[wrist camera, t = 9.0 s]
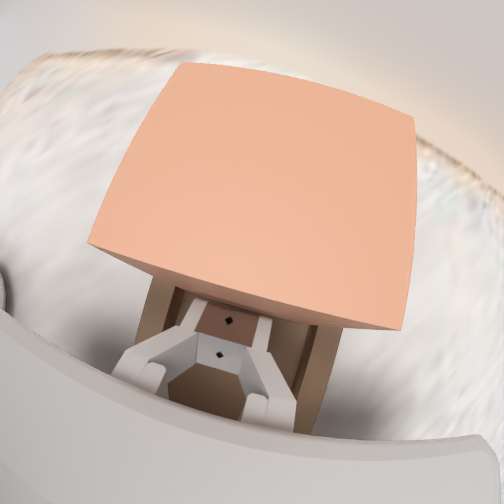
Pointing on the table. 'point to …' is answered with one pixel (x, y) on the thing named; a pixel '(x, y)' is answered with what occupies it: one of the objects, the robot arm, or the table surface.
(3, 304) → the plastic bottle
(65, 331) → the table surface
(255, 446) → the robot arm
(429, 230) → the table surface
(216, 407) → the chute
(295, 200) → the block
